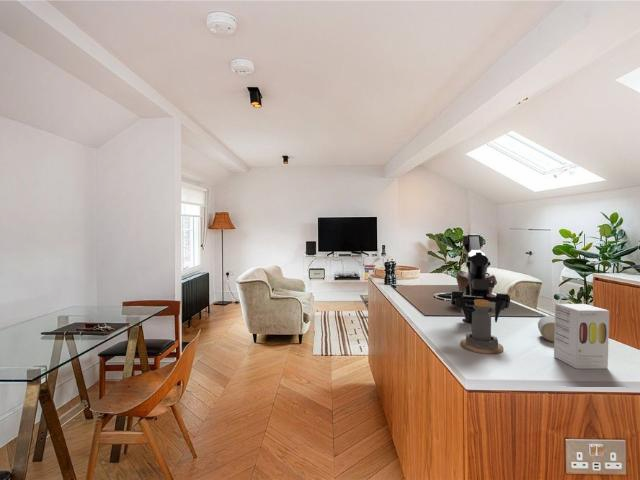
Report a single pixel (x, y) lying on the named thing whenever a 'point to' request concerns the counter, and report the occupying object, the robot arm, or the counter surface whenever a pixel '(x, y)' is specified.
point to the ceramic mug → (547, 327)
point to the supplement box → (581, 335)
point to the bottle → (481, 320)
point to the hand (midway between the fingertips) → (481, 320)
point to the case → (463, 281)
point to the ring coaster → (495, 351)
